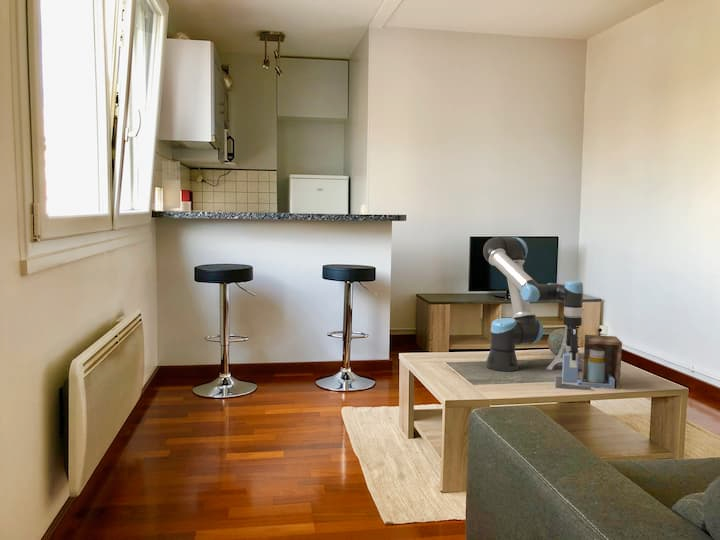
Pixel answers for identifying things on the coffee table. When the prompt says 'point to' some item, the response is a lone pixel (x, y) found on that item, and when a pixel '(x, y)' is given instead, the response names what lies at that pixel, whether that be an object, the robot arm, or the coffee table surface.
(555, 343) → the decorative sphere
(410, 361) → the coffee table surface
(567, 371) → the pale blue bracket stand
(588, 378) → the bottle
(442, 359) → the coffee table surface
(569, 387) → the grey long bar
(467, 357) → the coffee table surface
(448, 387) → the coffee table surface
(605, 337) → the cubby
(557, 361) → the eiffel tower
